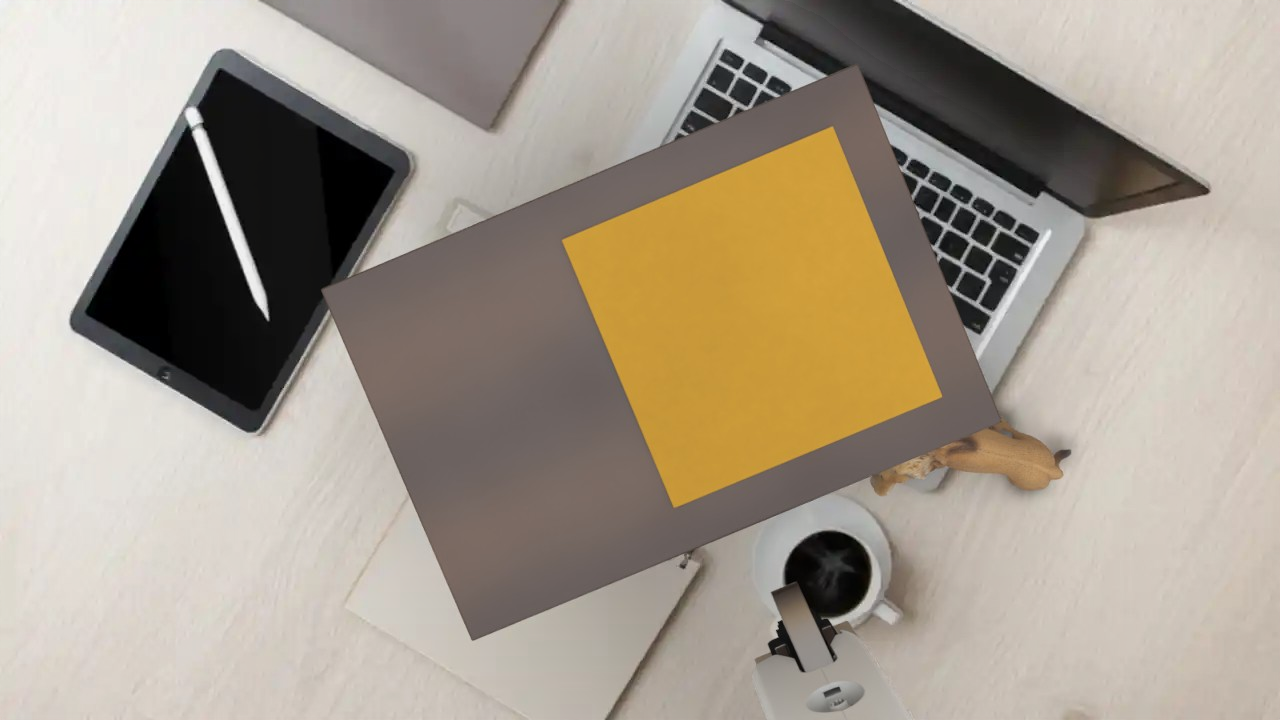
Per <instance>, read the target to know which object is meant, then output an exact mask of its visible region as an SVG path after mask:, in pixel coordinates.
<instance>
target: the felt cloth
mask: <svg viewBox="0 0 1280 720" xmlns="http://www.w3.org/2000/svg"><path fill="white" fill-rule="evenodd" d="M562 243H563V245H564V247H565V250H566V252H567V255H568V257H569V259H570V262H571V264H572V266H573V269H574V271H575V274H576V276H577V278H578V281H579V283H580V286H581V288H582V290H583V293H584V295H585V297H586V300H587V302H588V305H589V307H590V309H591V312H592V314H593V317H594V319H595V321H596V324H597V326H598V328H599V331H600V333H601V336H602V338H603V340H604V343H605V345H606V348H607V350H608V352H609V355H610V357H611V359H612V362H613V364H614V367H615V369H616V371H617V374H618V376H619V379H620V381H621V383H622V386H623V388H624V391H625V393H626V395H627V398H628V400H629V402H630V405H631V407H632V410H633V412H634V414H635V417H636V419H637V422H638V424H639V426H640V429H641V431H642V433H643V436H644V438H645V441H646V443H647V445H648V448H649V450H650V453H651V455H652V457H653V460H654V462H655V464H656V467H657V469H658V472H659V474H660V476H661V479H662V481H663V484H664V486H665V488H666V491H667V493H668V495H669V498H670V500H671V503H672V505H673V507H674V508H676V507H679V506H681V505H684V504H686V503H688V502H691V501H693V500H696V499H698V498H700V497H703V496H705V495H708V494H710V493H712V492H715V491H717V490H720V489H722V488H725V487H727V486H729V485H732V484H734V483H737V482H739V481H741V480H744V479H746V478H749V477H751V476H753V475H756V474H758V473H761V472H763V471H766V470H768V469H770V468H773V467H775V466H778V465H780V464H782V463H785V462H787V461H790V460H792V459H795V458H797V457H799V456H802V455H804V454H807V453H809V452H811V451H814V450H816V449H819V448H821V447H823V446H826V445H828V444H831V443H833V442H836V441H838V440H840V439H843V438H845V437H848V436H850V435H852V434H855V433H857V432H860V431H862V430H864V429H867V428H869V427H872V426H874V425H877V424H879V423H881V422H884V421H886V420H889V419H891V418H893V417H896V416H898V415H901V414H903V413H905V412H908V411H910V410H913V409H915V408H918V407H920V406H922V405H925V404H927V403H930V402H932V401H934V400H937V399H939V398H942V394H941V391H940V389H939V386H938V384H937V381H936V379H935V377H934V374H933V372H932V369H931V367H930V364H929V362H928V359H927V357H926V354H925V352H924V349H923V347H922V344H921V342H920V340H919V337H918V335H917V332H916V330H915V327H914V325H913V322H912V320H911V317H910V315H909V312H908V310H907V308H906V305H905V303H904V300H903V298H902V295H901V293H900V290H899V288H898V285H897V283H896V280H895V278H894V275H893V273H892V271H891V268H890V266H889V263H888V261H887V258H886V256H885V253H884V251H883V248H882V246H881V243H880V241H879V238H878V236H877V234H876V231H875V229H874V226H873V224H872V221H871V219H870V216H869V214H868V211H867V209H866V206H865V204H864V202H863V199H862V197H861V194H860V192H859V189H858V187H857V184H856V182H855V179H854V177H853V174H852V172H851V169H850V167H849V165H848V162H847V160H846V157H845V155H844V152H843V150H842V147H841V145H840V142H839V140H838V137H837V135H836V132H835V130H834V128H833V126H831V127H829V128H827V129H824V130H822V131H820V132H817V133H815V134H812V135H810V136H808V137H805V138H803V139H800V140H798V141H796V142H793V143H791V144H789V145H786V146H784V147H781V148H779V149H777V150H774V151H772V152H769V153H767V154H765V155H762V156H760V157H758V158H755V159H753V160H750V161H748V162H746V163H743V164H741V165H738V166H736V167H734V168H731V169H729V170H727V171H724V172H722V173H719V174H717V175H715V176H712V177H710V178H707V179H705V180H703V181H700V182H698V183H696V184H693V185H691V186H688V187H686V188H684V189H681V190H679V191H677V192H674V193H672V194H669V195H667V196H665V197H662V198H660V199H657V200H655V201H653V202H650V203H648V204H646V205H643V206H641V207H638V208H636V209H634V210H631V211H629V212H626V213H624V214H622V215H619V216H617V217H615V218H612V219H610V220H607V221H605V222H603V223H600V224H598V225H595V226H593V227H591V228H588V229H586V230H584V231H581V232H579V233H576V234H574V235H572V236H569V237H567V238H564V239H562Z"/></svg>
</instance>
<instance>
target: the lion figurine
mask: <svg viewBox="0 0 1280 720" xmlns="http://www.w3.org/2000/svg"><path fill="white" fill-rule="evenodd" d="M1001 420H1002V422H1001V423H999V424H996V425H994V426H991V427H989V428H987V429H984V430H982V431H979V432H977V433H975V434H972V435H970V436H967V437H965V438H962V439H960V440H958V441H955V442H953V443H950V444H948V445H946V446H943V447H941V448H938V449H936V450H933V451H931V452H929V453H926V454H924V455H921V456H919V457H916V458H914V459H912V460H909V461H907V462H904V463H902V464H900V465H897V466H895V467H892V468H890V469H887V470H885V471H883V472H880V473H878V474H875V475H873V476H871V477H870V481H869V483H870V485H871V487H872V488H873V491H874V493H876V495H877V496H879V497H886V496H887V495H888V494H889V493H890V492H891V491H893V489H894V487H895V486H896V484H904V483H906V482H907V481H909V480H910V479H920V480H926V479H927V477H926V476H929V474H930V473H931V472H934V471H935V470H937V469H938V470H939V469H943V468H946V467H947V468H950V469H953V470H957V471H960V472H964V473H975V474H990V475H991V474H993V475H994V474H996V475H1002V476H1003V475H1004V476H1006V478H1007V480H1008V481H1009V483H1010V484H1011V486H1014V487H1016V488H1018V489H1020V490H1022V491H1027V492H1032V491H1039V490H1044V489H1046V488H1047V487H1048V486H1049V484H1050V482H1051V481H1057V480H1061V479H1062V478H1063V477H1064V471H1063V470H1062V469H1061V467H1060V464H1061V462H1062V461H1063V460H1064V459H1067V458H1069V457H1070V456H1071V455H1072V449H1069V448H1068V449H1060V450H1058V451H1057V452H1055V454H1053V451H1051V450H1050V448H1048V446H1047V445H1046V444H1045V443H1044V442H1043V441H1041V440H1039V439H1038V438H1036V437H1034V436H1033V435H1030V434H1026V433H1024V432H1021V431H1018V430H1016V429H1014V428H1013V427H1012V426H1011V425H1010V423H1009V422H1008V421H1007V420H1005V419H1004V418H1003V417H1001Z"/></svg>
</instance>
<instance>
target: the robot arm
mask: <svg viewBox="0 0 1280 720" xmlns="http://www.w3.org/2000/svg"><path fill="white" fill-rule="evenodd" d="M770 595H771V597H772V599H773V601H774V604H775V607H776V609H777V612H778V614H779V616H780V619H781V620H779V621H778V620H777V624H776V625H777V628H778V629H775V632H776V635H777V637H776V638H773V639H771V640H769V641H768V642H767V646H768V649H769V651H770V652H771V654H772V656H771V657H769V658H767V659H765V660H763V661H761V662H760V663H758V664H756V663H755V666H754V667H753V672H752V676H751V681H752V685H753V686H754V689H755V692H756V695H757V697H758V701H759V703H760V706H761V708H762V711H763V713H764V717H765V719H766V720H915V719H914V716H913V713H912V712H911V711H910V710H909V709H908V708H907V705H906V704H905V702H904V701H903V699H902V698H901V696H900V695H899V693H898V691H897V690H896V689H895V687H894V685H893V684H892V682H891V681H890V678H889V677H888V676H887V674H886V673H885V671H884V670H883V668H882V666H881V665H880V664H879V663H878V661H877V659H876V658H875V657H874V655H873V654H872V652H871V651H870V649H869V647H868V646H867V645H866V644H865V643H864V642H863V640H862V639H861V637H860V636H859V637H860V638H859V637H857V636H856V635H854V634H853V633H851V632H848V631H845V630H839V631H840V634H838V633H837V632H836V630H835V629H834V627H833V626H834V625H833V623H831V621H830V619H829V618H822V616H821V614H820V612H818V613H816V611H815V610H814V609H813V608H812V607H809V605H808V603H807V600H806V598H805V596H804V594H803V592H802V590H801V587H800V585H799V583H798V581H794V582H791V583H789V584H786V585H783V586H782V587H779V588H777V589H774V590H772V591H770ZM770 652H769V653H770Z"/></svg>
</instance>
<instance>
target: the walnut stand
mask: <svg viewBox="0 0 1280 720" xmlns="http://www.w3.org/2000/svg"><path fill="white" fill-rule="evenodd" d="M879 115H880V114H879V113H878V110H877V108H876V105H875V102H874V99H873V97H872V94H871V92H870V90H869V88H868V85H867V83H866V81H865V78H864V75H863V73H862V71H861V68H860V66H859V64H858V63H855V64H852V65H851V66H848V67H845V68H843V69H840V70H838V71H836V72H834V73H831V74H829V75H827V76H824V77H822V78H819V79H817V80H814V81H812V82H810V83H807V84H805V85H802V86H801V87H798V88H796V89H794V90H791V91H788V92H786V93H784V94H781V95H779V96H776V97H774V98H771V99H770V100H767V101H765V102H763V103H759V104H758V105H755V106H753V107H751V108H748V109H746V110H744V111H741V112H739V113H736V114H734V115H731V116H728V117H727V118H724V119H722V120H719V121H717V122H715V123H713V124H710V125H708V126H705V127H703V128H701V129H700V128H699V129H698V130H696V131H693V132H690V133H689V134H686V135H683V136H681V137H679V138H676V139H674V140H672V141H669V142H667V143H665V144H662V145H660V146H658V147H655V148H653V149H650V150H648V151H645V152H643V153H641V154H638V155H636V156H634V157H631V158H629V159H627V160H624V161H622V162H619V163H617V164H615V165H612V166H610V167H608V168H605V169H602V170H600V171H598V172H596V173H593V174H591V175H588V176H586V177H584V178H582V179H579V180H577V181H575V182H572V183H570V184H567V185H564V186H563V187H560V188H558V189H555V190H553V191H551V192H548V193H546V194H543V195H541V196H538V197H537V198H534V199H532V200H529V201H527V202H524V203H522V204H520V205H517V206H515V207H512V208H511V209H508V210H505V211H503V212H501V213H498V214H495V215H493V216H491V217H489V218H487V219H484V220H481V221H479V222H476V223H474V224H472V225H470V226H468V227H465V228H462V229H460V230H457V231H455V232H453V233H451V234H449V235H446V236H443V237H441V238H439V239H436V240H434V241H431V242H430V243H427V244H424V245H422V246H420V247H417V248H414V249H412V250H410V251H408V252H406V253H403V254H400V255H398V256H396V257H394V258H391V259H389V260H386V261H384V262H382V263H380V264H377V265H375V266H372V267H370V268H367V269H365V270H363V271H360V272H357V273H355V274H352V275H351V276H348V277H346V278H344V279H341V280H339V281H337V282H334V283H332V284H329V285H327V286H324V287H322V288H321V289H320V291H321V293H322V297H323V298H324V301H325V304H326V305H327V308H328V310H329V313H330V314H331V317H332V319H333V321H334V324H335V325H336V328H337V331H338V333H339V336H340V338H341V340H342V342H343V344H344V347H345V349H346V353H347V354H348V357H349V359H350V361H351V364H352V367H353V368H354V371H355V372H356V375H357V377H358V381H359V383H360V385H361V387H362V389H363V392H364V393H365V396H366V398H367V400H368V403H369V405H370V407H371V410H372V412H373V415H374V417H375V419H376V421H377V424H378V426H379V429H380V431H381V434H382V435H383V438H384V440H385V442H386V444H387V447H388V449H389V452H390V454H391V456H392V459H393V461H394V464H395V466H396V468H397V471H398V473H399V475H400V478H401V480H402V483H403V484H404V487H405V488H406V492H407V494H408V496H409V498H410V501H411V503H412V505H413V508H414V511H415V512H416V515H417V517H418V519H419V521H420V524H421V526H422V528H423V531H424V534H425V536H426V538H427V540H428V543H429V545H430V547H431V550H432V552H433V555H434V557H435V559H436V561H437V563H438V566H439V569H440V570H441V573H442V575H443V577H444V580H445V582H446V585H447V586H448V589H449V591H450V593H451V596H452V598H453V600H454V603H455V606H456V607H457V610H458V612H459V614H460V617H461V620H462V622H463V625H464V626H465V628H466V631H467V634H468V636H469V637H470V640H471V641H472V642H474V641H476V640H479V639H481V638H484V637H486V636H488V635H491V634H494V633H496V632H498V631H501V630H503V629H505V628H508V627H510V626H513V625H515V624H518V623H520V622H522V621H525V620H527V619H530V618H532V617H534V616H537V615H539V614H541V613H545V612H547V611H549V610H552V609H554V608H556V607H559V606H561V605H564V604H566V603H568V602H571V601H573V600H576V599H578V598H580V597H583V596H586V595H587V594H590V593H592V592H595V591H597V590H601V589H602V588H604V587H607V586H609V585H612V584H614V583H617V582H619V581H621V580H624V579H626V578H629V577H631V576H633V575H634V576H635V575H636V574H638V573H641V572H643V571H645V570H648V569H651V568H654V567H655V566H658V565H660V564H663V563H665V562H668V561H670V560H673V559H675V558H677V557H679V556H680V557H681V556H682V555H684V554H687V553H689V552H692V551H694V550H696V549H699V548H701V547H704V546H706V545H708V544H711V543H714V542H716V541H718V540H721V539H724V538H725V537H728V536H730V535H733V534H735V533H738V532H740V531H743V530H744V529H748V528H750V527H752V526H754V525H757V524H760V523H761V522H764V521H766V520H769V519H771V518H774V517H776V516H778V515H781V514H783V513H785V512H788V511H791V510H793V509H796V508H798V507H801V506H803V505H805V504H808V503H810V502H812V501H815V500H818V499H820V498H823V497H824V496H826V495H829V494H832V493H834V492H838V491H839V490H841V489H844V488H846V487H849V486H851V485H854V484H856V483H858V482H861V481H863V480H866V479H868V478H871V477H872V476H873V475H875V474H878V473H880V472H883V471H885V470H887V469H890V468H892V467H895V466H897V465H900V464H902V463H904V462H907V461H909V460H912V459H914V458H916V457H919V456H921V455H924V454H926V453H929V452H931V451H933V450H936V449H938V448H941V447H943V446H946V445H948V444H950V443H953V442H955V441H958V440H960V439H962V438H965V437H967V436H970V435H972V434H975V433H977V432H979V431H982V430H984V429H990V427H991V426H994V425H996V424H999V423H1001V422H1002V420H1001V418H1002V417H1001V415H1000V413H999V409H998V407H997V405H996V402H995V401H994V397H993V395H992V392H991V390H990V388H989V385H988V383H987V380H986V378H985V375H984V373H983V371H982V368H981V366H980V363H979V360H978V357H977V356H976V352H975V351H974V348H973V345H972V343H971V341H970V338H969V335H968V333H967V330H966V328H965V326H964V323H963V320H962V318H961V316H960V313H959V311H958V308H957V306H956V304H955V300H954V298H953V295H952V293H951V291H950V288H949V285H948V284H947V283H948V282H947V281H946V278H945V276H944V274H943V271H942V268H941V266H940V264H939V260H938V258H937V256H936V253H935V252H934V248H933V247H932V244H931V241H930V239H929V237H928V233H927V232H926V231H927V230H925V227H924V224H923V221H922V219H921V216H920V214H919V212H918V209H917V207H916V204H915V202H914V199H913V197H912V194H911V192H910V190H909V187H908V185H907V182H906V179H905V177H904V174H903V172H902V170H901V167H900V164H899V162H898V159H897V158H896V157H897V156H896V155H895V152H894V150H893V148H892V144H891V143H890V140H889V137H888V135H887V133H886V130H885V127H884V125H883V123H882V120H881V118H880V116H879ZM831 126H833V128H834V130H835V132H836V135H837V137H838V140H839V142H840V145H841V147H842V150H843V152H844V155H845V157H846V160H847V162H848V165H849V167H850V169H851V172H852V174H853V177H854V179H855V182H856V184H857V187H858V189H859V192H860V194H861V197H862V199H863V202H864V204H865V206H866V209H867V211H868V214H869V216H870V219H871V221H872V224H873V226H874V229H875V231H876V234H877V236H878V238H879V241H880V243H881V246H882V248H883V251H884V253H885V256H886V258H887V261H888V263H889V266H890V268H891V271H892V273H893V275H894V278H895V280H896V283H897V285H898V288H899V290H900V293H901V295H902V298H903V300H904V303H905V305H906V308H907V310H908V312H909V315H910V317H911V320H912V322H913V325H914V327H915V330H916V332H917V335H918V337H919V340H920V342H921V344H922V347H923V349H924V352H925V354H926V357H927V359H928V362H929V364H930V367H931V369H932V372H933V374H934V377H935V379H936V381H937V384H938V386H939V389H940V391H941V394H942V398H939V399H937V400H934V401H932V402H930V403H927V404H925V405H922V406H920V407H918V408H915V409H913V410H910V411H908V412H905V413H903V414H901V415H898V416H896V417H893V418H891V419H889V420H886V421H884V422H881V423H879V424H877V425H874V426H872V427H869V428H867V429H864V430H862V431H860V432H857V433H855V434H852V435H850V436H848V437H845V438H843V439H840V440H838V441H836V442H833V443H831V444H828V445H826V446H823V447H821V448H819V449H816V450H814V451H811V452H809V453H807V454H804V455H802V456H799V457H797V458H795V459H792V460H790V461H787V462H785V463H782V464H780V465H778V466H775V467H773V468H770V469H768V470H766V471H763V472H761V473H758V474H756V475H753V476H751V477H749V478H746V479H744V480H741V481H739V482H737V483H734V484H732V485H729V486H727V487H725V488H722V489H720V490H717V491H715V492H712V493H710V494H708V495H705V496H703V497H700V498H698V499H696V500H693V501H691V502H688V503H686V504H684V505H681V506H679V507H676V508H674V507H673V505H672V503H671V500H670V498H669V495H668V493H667V491H666V488H665V486H664V484H663V481H662V479H661V476H660V474H659V472H658V469H657V467H656V464H655V462H654V460H653V457H652V455H651V453H650V450H649V448H648V445H647V443H646V441H645V438H644V436H643V433H642V431H641V429H640V426H639V424H638V422H637V419H636V417H635V414H634V412H633V410H632V407H631V405H630V402H629V400H628V398H627V395H626V393H625V391H624V388H623V386H622V383H621V381H620V379H619V376H618V374H617V371H616V369H615V367H614V364H613V362H612V359H611V357H610V355H609V352H608V350H607V348H606V345H605V343H604V340H603V338H602V336H601V333H600V331H599V328H598V326H597V324H596V321H595V319H594V317H593V314H592V312H591V309H590V307H589V305H588V302H587V300H586V297H585V295H584V293H583V290H582V288H581V286H580V283H579V281H578V278H577V276H576V274H575V271H574V269H573V266H572V264H571V262H570V259H569V257H568V255H567V252H566V250H565V247H564V245H563V243H562V239H564V238H567V237H569V236H572V235H574V234H576V233H579V232H581V231H584V230H586V229H588V228H591V227H593V226H595V225H598V224H600V223H603V222H605V221H607V220H610V219H612V218H615V217H617V216H619V215H622V214H624V213H626V212H629V211H631V210H634V209H636V208H638V207H641V206H643V205H646V204H648V203H650V202H653V201H655V200H657V199H660V198H662V197H665V196H667V195H669V194H672V193H674V192H677V191H679V190H681V189H684V188H686V187H688V186H691V185H693V184H696V183H698V182H700V181H703V180H705V179H707V178H710V177H712V176H715V175H717V174H719V173H722V172H724V171H727V170H729V169H731V168H734V167H736V166H738V165H741V164H743V163H746V162H748V161H750V160H753V159H755V158H758V157H760V156H762V155H765V154H767V153H769V152H772V151H774V150H777V149H779V148H781V147H784V146H786V145H789V144H791V143H793V142H796V141H798V140H800V139H803V138H805V137H808V136H810V135H812V134H815V133H817V132H820V131H822V130H824V129H827V128H829V127H831Z"/></svg>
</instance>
